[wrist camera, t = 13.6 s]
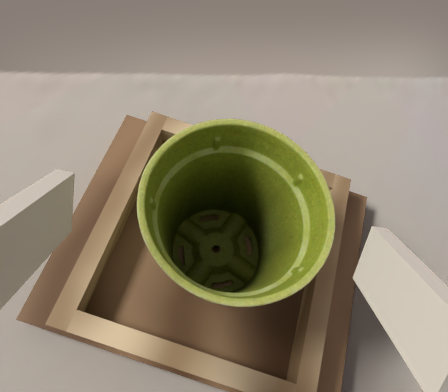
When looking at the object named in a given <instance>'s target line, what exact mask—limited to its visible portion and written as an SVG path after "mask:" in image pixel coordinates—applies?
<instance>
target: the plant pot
mask: <svg viewBox="0 0 448 392" xmlns="http://www.w3.org/2000/svg"><path fill="white" fill-rule="evenodd" d="M210 215H216V216H218V218H219V219H218V220H205V221H202V222H201V221H200V220H201V218H202V217H205V216H210ZM137 216H138V222H139V226H140V230H141V234H142V237H143V239H144V241H145V244H146V246H147V248H148V250H149V252H150V253H151V255H152V257H153V258H154V260H155V261H156V262H157V264H158V265H159V266H160V268H161V269H162V270H163V271H164V272H165V273H166V274H167V275H168V276H169V277H170V278H171V279H172V280H173V281H174V282H175V283H177V284H178V285H179V286H180V287H182V288H183V289H185V290H186V291H188V292H190V293H191V294H193V295H195V296H197V297H199V298H202V299H204V300H206V301H209V302H212V303H216V304H220V305H224V306H232V307H255V306H262V305H266V304H271V303H274V302H277V301H280V300H282V299H285V298H287V297H289V296H291V295H293V294H294V293H296V292H297V291H299V290H301V289H302V288H303V287H305V286H306V285H307V284H308V283H309V282H310V281H311V280H312V279H313V278H314V277H315V276H316V274H317V273H318V272H319V271H320V269H321V268H322V266H323V265H324V263H325V261H326V259H327V257H328V256H329V253H330V250H331V247H332V244H333V240H334V234H335V209H334V203H333V200H332V196H331V193H330V190H329V187H328V185H327V182H326V180H325V178H324V176H323V174H322V173H321V171H320V169H319V168H318V166H317V165H316V164H315V162H314V161H313V160H312V159H311V158H310V156H309V155H308V154H307V153H306V152H305V151H304V150H303V149H302V148H301V147H300V146H299V145H297V144H296V143H295V142H293V141H292V140H291V139H289V138H288V137H287V136H285V135H284V134H282V133H280V132H278V131H276V130H274V129H272V128H270V127H267V126H265V125H262V124H258V123H255V122H251V121H245V120H240V119H217V120H209V121H205V122H201V123H198V124H195V125H193V126H190V127H188V128H186V129H184V130H182V131H180V132H178V133H177V134H175V135H174V136H172V137H171V138H169V139H168V140H167V141H166V142H165V143H164V144H163V145H162V146H161V147H160V148H159V149H158V150H157V151H156V152H155V154H154V155H153V156H152V158H151V159H150V160H149V162H148V164H147V165H146V167H145V169H144V172H143V174H142V177H141V180H140V184H139V188H138V196H137ZM245 236H247V237H248V238H249V239H250V241H251V246H252V253H251V255H248V254H247V246H246V242H245V240H244V237H245ZM180 246H183V247H184V259H185V265H183V264H182V263H181V261H180V259H179V255H178V249H179V247H180ZM214 246H219V247H220V251H219V252H216V253H215V252H213V250H212V248H213V247H214ZM229 280H231V281H232V284H231V285H230V286H224V287H222V288H213V286H212V284H213V283H222V282H227V281H229Z"/></svg>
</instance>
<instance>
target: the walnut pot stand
mask: <svg viewBox="0 0 448 392" xmlns="http://www.w3.org/2000/svg"><path fill="white" fill-rule="evenodd" d="M190 126H193V125H190V124H188V123H185V122H182V121H179V120H176V119H173V118H170V117H167V116H164V115H161V114H158V113H156V112H153V111H152V113H151V115H150V117H149V119H148V121H147V122H146V121H144V120H141V119H138V118H135V117H132V116H129V115H127V116H126V117H125V119H124V121H123V123H122V125H121V127H120V129H119V130H118V132H117V134H116V136H115V138H114V140H113V141H112V143H111V145H110V147H109V149H108V151H107V153H106V154H105V156H104V158H103V160H102V162H101V164H100V166H99V167H98V169H97V171H96V173H95V175H94V177H93V178H92V180H91V182H90V184H89V186H88V188H87V190H86V191H85V193H84V195H83V197H82V199H81V201H80V202H79V204H78V206H77V208H76V210H75V212H74V214H73V215H72V231H71V232H70V233H69V235H68V236H67V237H66V238H65V239H64V240H63V241H62V242H61V243H60V244H59V246H58V247H57V248H56V249H55V250H54V251H53V252H52V254H51V256H50V258H49V260H48V262H47V263H46V265H45V267H44V269H43V271H42V273H41V275H40V276H39V278H38V280H37V282H36V284H35V286H34V288H33V289H32V291H31V293H30V295H29V297H28V299H27V300H26V302H25V304H24V306H23V308H22V310H21V312H20V313H19V315H18V317H17V319H16V320H19V321H22V322H25V323H28V324H31V325H34V326H37V327H40V328H43V329H46V330H48V331H51V332H54V333H57V334H60V335H63V336H66V337H69V338H72V339H75V340H78V341H81V342H84V343H87V344H90V345H93V346H96V347H99V348H102V349H105V350H108V351H110V352H113V353H116V354H119V355H122V356H125V357H128V358H131V359H134V360H137V361H140V362H143V363H146V364H149V365H152V366H155V367H158V368H161V369H164V370H167V371H170V372H173V373H175V374H178V375H181V376H184V377H187V378H190V379H193V380H196V381H199V382H202V383H205V384H208V385H211V386H214V387H217V388H220V389H223V390H226V391H229V392H341V386H342V379H343V372H344V364H345V357H346V349H347V342H348V334H349V327H350V319H351V312H352V304H353V297H354V289H355V281H354V280H353V275H354V273H355V270H356V267H357V265H358V260H359V252H360V245H361V237H362V230H363V222H364V215H365V207H366V200H367V197H365V196H362V195H359V194H356V193H353V192H350V191H349V188H350V182H351V180H350V179H348V178H345V177H342V176H339V175H336V174H333V173H330V172H327V171H324V170H321V169H320V171H321V173H322V174H323V176H324V178H325V180H326V182H327V185H328V187H329V190H330V193H331V196H332V200H333V203H334V209H335V234H334V240H333V244H332V247H331V250H330V253H329V256H328V257H327V259H326V261H325V263H324V265H323V266H322V268H321V269H320V271H319V272H318V273H317V274H316V276H315V277H314V278H313V279H312V280H311V281H310V282H309V283H308V284H307V285H306V286H305V287H303V288H302V289H301V290H299V291H297V292H296V293H294V294H293V295H291V296H289V297H287V298H285V299H282V300H280V301H277V302H274V303H271V304H266V305H262V306H255V307H232V306H224V305H220V304H216V303H212V302H209V301H206V300H204V299H202V298H199V297H197V296H195V295H193V294H191V293H190V292H188V291H186V290H185V289H183V288H182V287H180V286H179V285H178V284H177V283H175V282H174V281H173V280H172V279H171V278H170V277H169V276H168V275H167V274H166V273H165V272H164V271H163V270H162V269H161V268H160V266H159V265H158V264H157V262H156V261H155V260H154V258H153V257H152V255H151V253H150V252H149V250H148V248H147V246H146V244H145V241H144V239H143V237H142V234H141V230H140V226H139V222H138V216H137V196H138V188H139V184H140V180H141V177H142V174H143V172H144V169H145V167H146V165H147V164H148V162H149V160H150V159H151V158H152V156H153V155H154V154H155V152H156V151H157V150H158V149H159V148H160V147H161V146H162V145H163V144H164V143H165V142H166V141H167V140H168V139H169V138H171V137H172V136H174V135H175V134H177V133H178V132H180V131H182V130H184V129H186V128H188V127H190ZM218 219H219V218H218V216H216V215H210V216H205V217H202V218H201V220H200V221H201V222H202V221H205V220H218ZM244 240H245V242H246V246H247V254H248V255H251V253H252V246H251V241H250V239H249V238H248V237H247V236H245V237H244ZM212 250H213V252H215V253H216V252H219V251H220V247H219V246H214V247H213V248H212ZM178 255H179V259H180V261H181V263H182V264H183V265H185V259H184V247H183V246H180V247H179V249H178ZM231 284H232V281H231V280H229V281H227V282H222V283H213V284H212V286H213V288H222V287H224V286H230V285H231Z"/></svg>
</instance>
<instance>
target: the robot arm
mask: <svg viewBox="0 0 448 392" xmlns="http://www.w3.org/2000/svg"><path fill="white" fill-rule="evenodd" d="M74 174H75V173H73V172H67V171H62V170H54V171H53V172H51V173H49V174H48V175H46V176H45V177H43V178H41V179H40V180H38V181H37V182H35V183H33V184H32V185H30V186H29V187H27V188H25V189H24V190H22V191H20V192H19V193H17V194H16V195H14V196H12V197H11V198H9V199H8V200H6V201H4V202H3V203H1V204H0V309H1V308H2V307H3V306H4V305H5V304H6V303H7V302H8V300H9V299H10V298H11V297H12V296H13V295H14V294H15V293H16V292H17V291H18V290H19V288H20V287H21V286H22V285H23V284H24V283H25V282H26V281H27V280H28V279H29V277H30V276H31V275H32V274H33V273H34V272H35V271H36V270H37V269H38V268H39V266H40V265H41V264H42V263H43V262H44V261H45V260H46V259H47V258H48V257H49V255H50V254H51V253H52V252H53V251H54V250H55V249H56V248H57V247H58V246H59V244H60V243H61V242H62V241H63V240H64V239H65V238H66V237H67V236H68V235H69V233H70V232H71V231H72V213H73V194H74ZM353 280H354V281H355V283H356V284H357V286H358V288H359V289H360V291H361V292H362V294H363V296H364V297H365V299H366V300H367V302H368V304H369V305H370V307H371V308H372V310H373V312H374V313H375V315H376V316H377V318H378V320H379V321H380V323H381V324H382V326H383V328H384V329H385V331H386V332H387V334H388V336H389V337H390V339H391V340H392V342H393V344H394V345H395V347H396V348H397V350H398V351H399V353H400V355H401V356H402V358H403V359H404V361H405V363H406V364H407V366H408V367H409V369H410V371H411V372H412V374H413V375H414V377H415V379H416V380H417V382H418V383H419V385H420V387H421V388H422V390H423V391H424V392H448V286H447V285H446V284H445V283H444V282H443V281H442V280H441V279H439V278H438V277H437V276H436V275H435V274H434V273H433V272H432V271H431V270H430V269H429V268H428V267H427V266H426V265H425V264H424V263H423V262H422V261H421V260H420V259H419V258H418V257H417V256H416V255H415V254H414V253H413V252H411V251H410V250H409V249H408V248H407V247H406V246H405V245H404V244H403V243H402V242H401V241H400V240H399V239H398V238H397V237H396V236H395V235H394V234H393V233H392V232H391V231H390V230H389V229H386V228H380V227H375V226H372V227H371V230H370V232H369V235H368V238H367V240H366V243H365V246H364V249H363V251H362V254H361V257H360V259H359V262H358V265H357V267H356V270H355V273H354V275H353Z"/></svg>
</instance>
